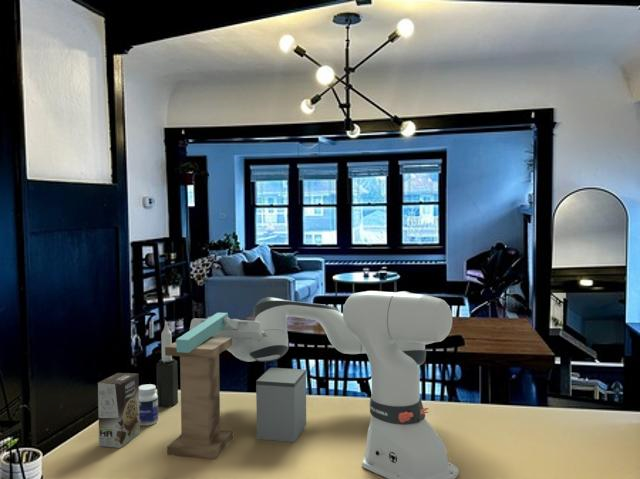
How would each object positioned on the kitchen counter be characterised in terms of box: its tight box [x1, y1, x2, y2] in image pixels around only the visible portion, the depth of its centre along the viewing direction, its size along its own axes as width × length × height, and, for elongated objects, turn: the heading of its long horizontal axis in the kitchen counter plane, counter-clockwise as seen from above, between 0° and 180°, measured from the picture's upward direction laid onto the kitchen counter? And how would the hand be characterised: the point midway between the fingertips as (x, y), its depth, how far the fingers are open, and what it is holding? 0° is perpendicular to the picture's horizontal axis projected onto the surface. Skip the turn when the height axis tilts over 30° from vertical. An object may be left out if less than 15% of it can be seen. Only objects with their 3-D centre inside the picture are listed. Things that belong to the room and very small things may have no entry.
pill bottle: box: [139, 383, 159, 427], centre depth 150 cm, size 6×6×10 cm
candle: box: [156, 321, 179, 408], centre depth 164 cm, size 5×5×25 cm
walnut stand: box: [165, 337, 234, 460], centre depth 134 cm, size 12×12×26 cm
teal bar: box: [175, 312, 229, 353], centre depth 136 cm, size 24×3×3 cm, turn 168°
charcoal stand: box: [255, 367, 307, 443], centre depth 143 cm, size 12×10×15 cm
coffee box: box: [97, 372, 141, 449], centre depth 138 cm, size 9×6×16 cm
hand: (217, 319), depth 144 cm, fingers closed on teal bar, 3 cm apart
